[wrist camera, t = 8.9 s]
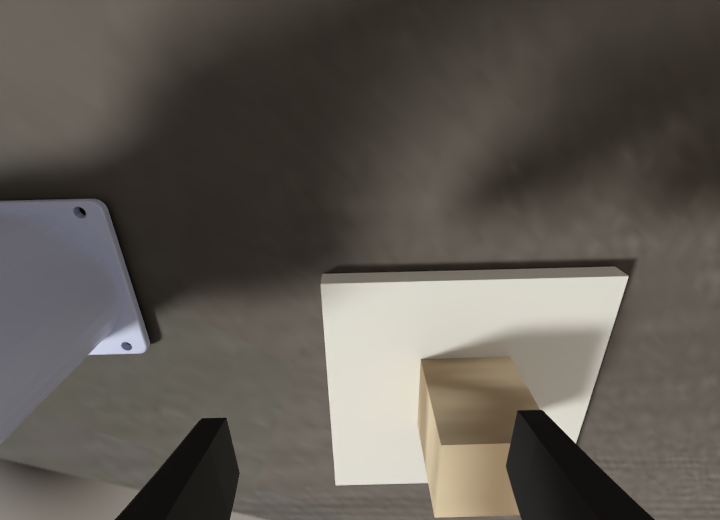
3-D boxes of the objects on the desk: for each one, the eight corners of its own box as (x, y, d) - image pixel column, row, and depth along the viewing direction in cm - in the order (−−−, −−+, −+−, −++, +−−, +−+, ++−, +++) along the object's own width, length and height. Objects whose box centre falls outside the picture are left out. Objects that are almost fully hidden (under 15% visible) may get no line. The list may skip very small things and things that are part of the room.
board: (336, 470, 24) (335, 485, 23) (322, 273, 18) (320, 283, 17) (556, 464, 24) (564, 479, 23) (615, 266, 18) (628, 276, 17)
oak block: (417, 423, 21) (434, 517, 16) (420, 359, 19) (441, 445, 14) (498, 420, 21) (538, 514, 16) (510, 356, 19) (558, 441, 14)
